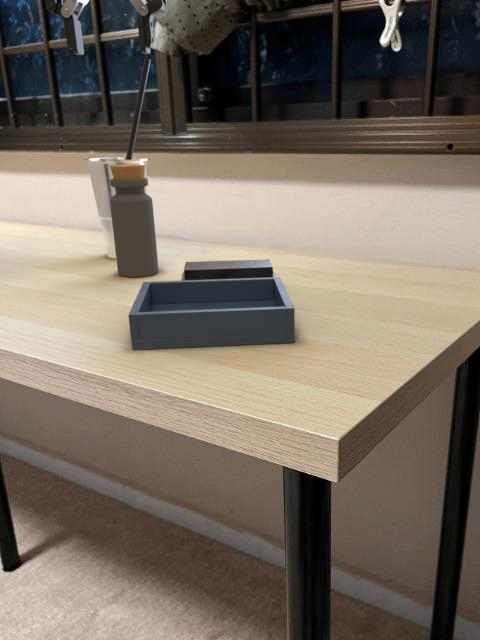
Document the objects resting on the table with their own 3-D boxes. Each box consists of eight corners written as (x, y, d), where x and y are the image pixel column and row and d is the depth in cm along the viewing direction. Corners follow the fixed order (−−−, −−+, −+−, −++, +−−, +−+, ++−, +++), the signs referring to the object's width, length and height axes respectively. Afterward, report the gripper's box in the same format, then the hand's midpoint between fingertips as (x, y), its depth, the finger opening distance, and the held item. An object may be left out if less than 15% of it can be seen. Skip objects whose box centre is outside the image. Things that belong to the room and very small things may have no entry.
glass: (166, 248, 109) (150, 58, 97) (158, 260, 98) (139, 49, 87) (105, 249, 108) (81, 58, 96) (90, 261, 98) (61, 49, 86)
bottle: (148, 267, 93) (138, 163, 88) (165, 273, 89) (156, 164, 83) (112, 272, 90) (99, 164, 84) (127, 279, 86) (115, 166, 80)
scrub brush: (181, 298, 76) (179, 270, 74) (183, 287, 81) (181, 261, 80) (277, 295, 77) (277, 267, 75) (273, 284, 82) (272, 258, 81)
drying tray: (132, 350, 58) (128, 314, 57) (146, 311, 70) (143, 281, 69) (294, 342, 60) (294, 308, 58) (280, 306, 72) (280, 276, 71)
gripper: (18, -117, 67) (43, 51, 73) (146, -122, 66) (160, 49, 72) (48, -94, 73) (68, 58, 80) (164, -98, 73) (175, 56, 79)
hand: (112, 53), depth 76 cm, fingers open, 8 cm apart
